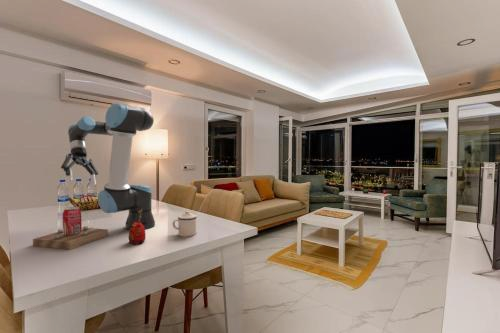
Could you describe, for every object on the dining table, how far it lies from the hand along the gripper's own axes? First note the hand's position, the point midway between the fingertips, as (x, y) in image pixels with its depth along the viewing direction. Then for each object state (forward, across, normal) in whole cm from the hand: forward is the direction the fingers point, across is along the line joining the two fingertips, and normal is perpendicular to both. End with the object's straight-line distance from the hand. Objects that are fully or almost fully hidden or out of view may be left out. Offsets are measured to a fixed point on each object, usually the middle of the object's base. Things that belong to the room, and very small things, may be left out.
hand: (82, 183), depth 139 cm
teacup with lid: (+45, -15, +44) cm, 65 cm away
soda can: (+30, +12, +4) cm, 32 cm away
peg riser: (+32, +11, +3) cm, 34 cm away
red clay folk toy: (+44, +2, +30) cm, 53 cm away
